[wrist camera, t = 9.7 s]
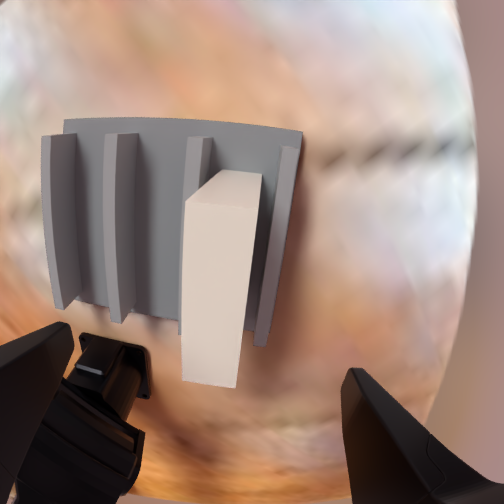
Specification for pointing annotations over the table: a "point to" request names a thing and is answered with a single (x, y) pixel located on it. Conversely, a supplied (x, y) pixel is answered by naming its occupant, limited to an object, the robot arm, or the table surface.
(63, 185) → the dish rack
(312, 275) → the table surface
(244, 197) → the beige upright tile
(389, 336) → the table surface
